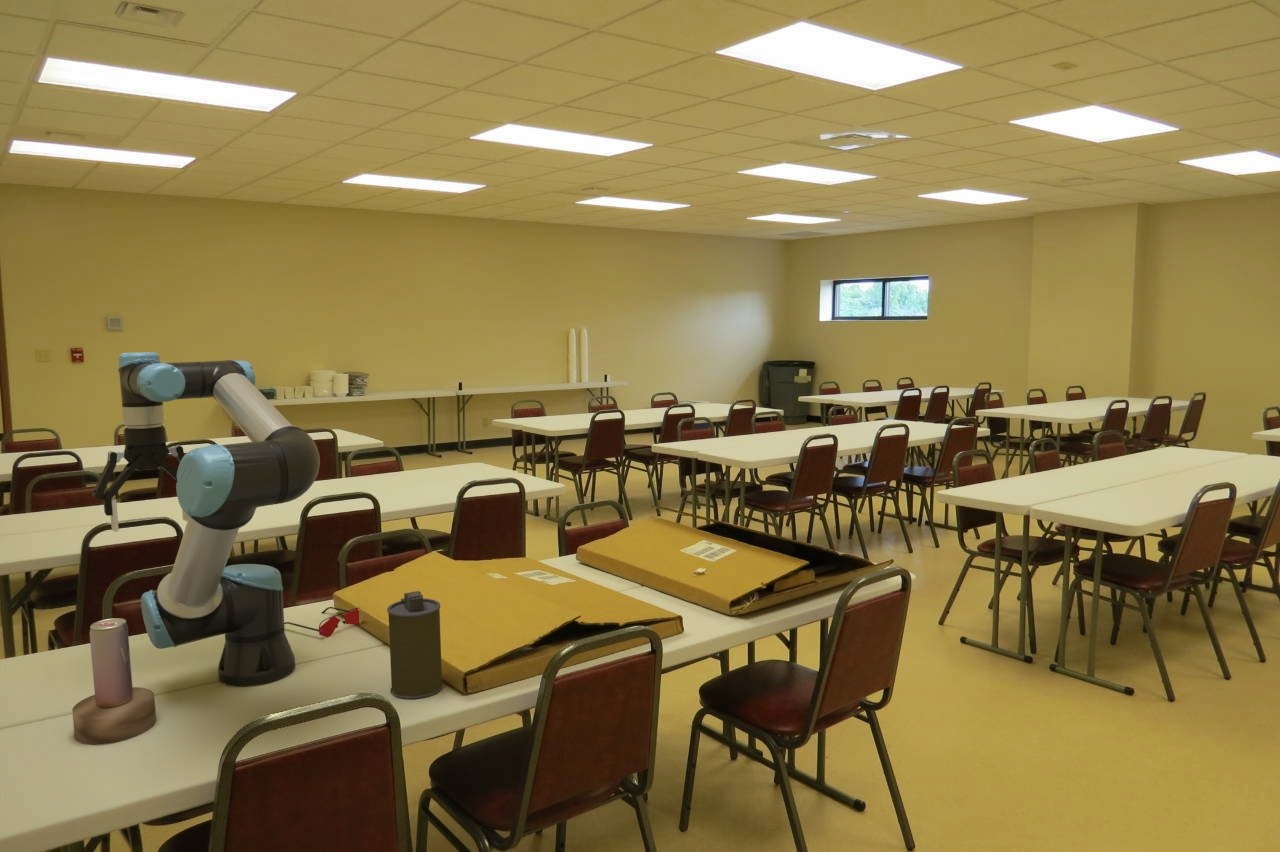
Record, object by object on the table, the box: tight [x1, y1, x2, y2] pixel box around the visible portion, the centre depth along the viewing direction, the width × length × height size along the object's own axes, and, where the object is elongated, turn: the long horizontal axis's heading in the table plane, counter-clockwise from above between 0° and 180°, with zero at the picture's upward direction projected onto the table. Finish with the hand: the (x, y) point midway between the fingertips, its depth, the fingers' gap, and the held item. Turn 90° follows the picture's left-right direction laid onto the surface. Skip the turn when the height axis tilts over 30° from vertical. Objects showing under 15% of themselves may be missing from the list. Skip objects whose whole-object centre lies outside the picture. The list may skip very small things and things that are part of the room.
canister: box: [386, 590, 444, 700], centre depth 178 cm, size 11×10×20 cm
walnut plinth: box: [71, 686, 157, 746], centre depth 162 cm, size 13×13×5 cm
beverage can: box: [89, 617, 134, 708], centre depth 161 cm, size 6×6×15 cm
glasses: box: [284, 606, 361, 638], centre depth 215 cm, size 14×16×5 cm
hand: (151, 525), depth 186 cm, fingers open, 13 cm apart
